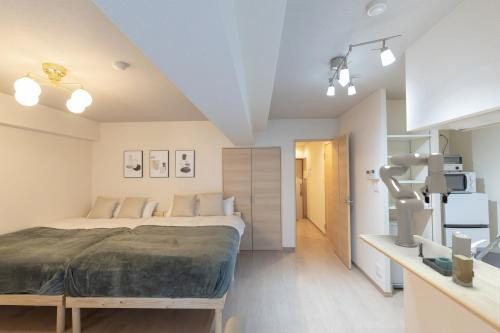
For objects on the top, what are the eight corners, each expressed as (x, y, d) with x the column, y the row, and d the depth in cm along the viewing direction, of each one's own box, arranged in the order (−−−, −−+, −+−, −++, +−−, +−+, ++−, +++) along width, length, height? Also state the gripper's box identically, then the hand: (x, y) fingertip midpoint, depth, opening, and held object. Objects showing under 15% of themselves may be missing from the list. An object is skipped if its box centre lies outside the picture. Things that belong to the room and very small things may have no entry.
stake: (417, 255, 149) (417, 242, 149) (421, 255, 149) (421, 242, 149) (420, 257, 147) (419, 243, 147) (424, 257, 147) (424, 243, 147)
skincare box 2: (451, 280, 116) (451, 254, 116) (460, 280, 117) (460, 254, 117) (464, 287, 110) (464, 259, 110) (473, 286, 110) (473, 259, 110)
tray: (422, 262, 139) (422, 257, 139) (448, 262, 137) (448, 258, 138) (444, 275, 121) (444, 270, 121) (474, 276, 120) (473, 271, 120)
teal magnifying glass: (432, 264, 134) (432, 254, 134) (448, 264, 134) (447, 254, 134) (449, 274, 122) (448, 262, 122) (466, 274, 121) (466, 263, 121)
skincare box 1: (451, 260, 142) (451, 232, 142) (466, 261, 139) (466, 234, 139) (456, 265, 134) (455, 236, 134) (472, 267, 131) (471, 237, 131)
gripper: (446, 173, 148) (447, 202, 148) (416, 174, 149) (416, 202, 149) (456, 174, 140) (456, 204, 140) (423, 174, 142) (424, 204, 142)
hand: (435, 203), depth 145 cm, fingers open, 9 cm apart
